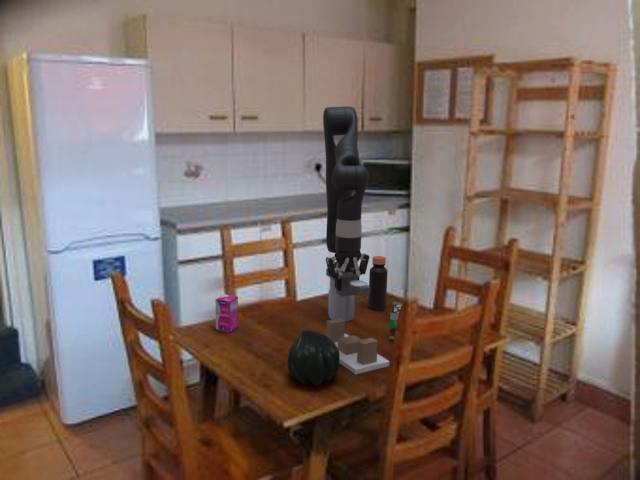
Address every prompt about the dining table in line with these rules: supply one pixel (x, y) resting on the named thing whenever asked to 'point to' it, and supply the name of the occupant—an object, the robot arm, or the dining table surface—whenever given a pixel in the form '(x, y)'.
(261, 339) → the dining table surface
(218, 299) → the supplement box
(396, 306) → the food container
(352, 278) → the grey white knobbed bar
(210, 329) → the dining table surface
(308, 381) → the squash
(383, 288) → the bottle
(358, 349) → the display stand
